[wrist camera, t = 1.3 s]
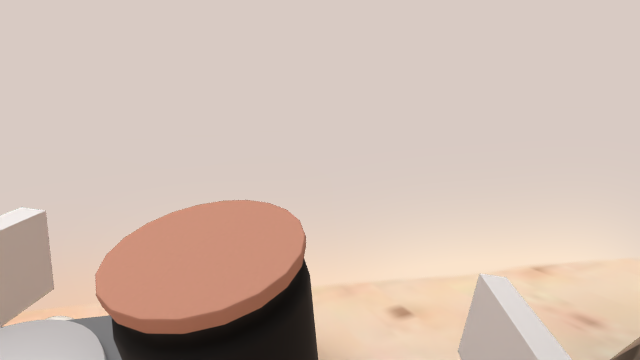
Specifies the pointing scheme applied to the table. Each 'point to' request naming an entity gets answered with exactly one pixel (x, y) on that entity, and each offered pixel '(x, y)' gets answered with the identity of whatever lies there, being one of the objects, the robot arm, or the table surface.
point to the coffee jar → (211, 286)
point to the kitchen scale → (59, 339)
